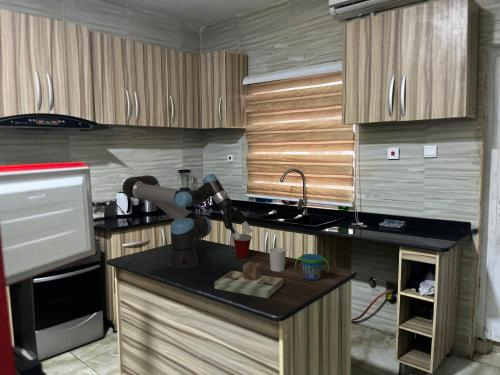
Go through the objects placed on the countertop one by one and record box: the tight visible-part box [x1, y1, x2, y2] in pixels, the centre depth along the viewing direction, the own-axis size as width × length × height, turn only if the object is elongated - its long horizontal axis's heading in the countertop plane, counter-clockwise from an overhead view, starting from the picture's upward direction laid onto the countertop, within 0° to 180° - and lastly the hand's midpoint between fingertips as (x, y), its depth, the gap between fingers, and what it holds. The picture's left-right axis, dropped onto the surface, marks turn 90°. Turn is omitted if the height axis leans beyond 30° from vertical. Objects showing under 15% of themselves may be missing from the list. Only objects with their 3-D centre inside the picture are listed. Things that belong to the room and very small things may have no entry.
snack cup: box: [294, 253, 330, 281], centre depth 174 cm, size 16×10×10 cm
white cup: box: [268, 247, 286, 273], centre depth 187 cm, size 8×8×10 cm
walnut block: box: [242, 261, 262, 281], centre depth 167 cm, size 6×6×6 cm
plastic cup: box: [232, 233, 253, 260], centre depth 208 cm, size 11×11×12 cm
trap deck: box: [214, 270, 284, 299], centre depth 164 cm, size 25×16×3 cm, turn 64°
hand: (244, 235), depth 194 cm, fingers open, 13 cm apart
